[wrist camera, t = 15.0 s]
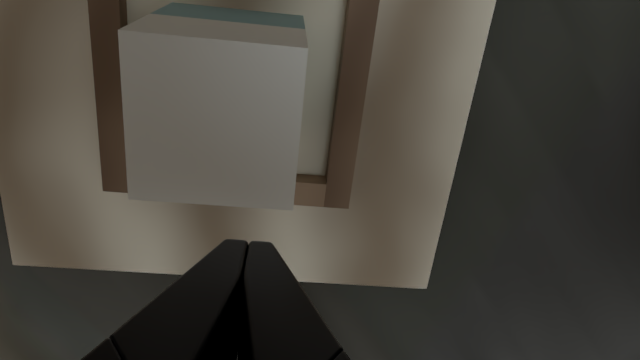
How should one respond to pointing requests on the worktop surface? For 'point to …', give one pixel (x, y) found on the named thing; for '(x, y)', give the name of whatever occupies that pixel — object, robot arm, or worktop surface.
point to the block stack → (213, 105)
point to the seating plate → (314, 147)
